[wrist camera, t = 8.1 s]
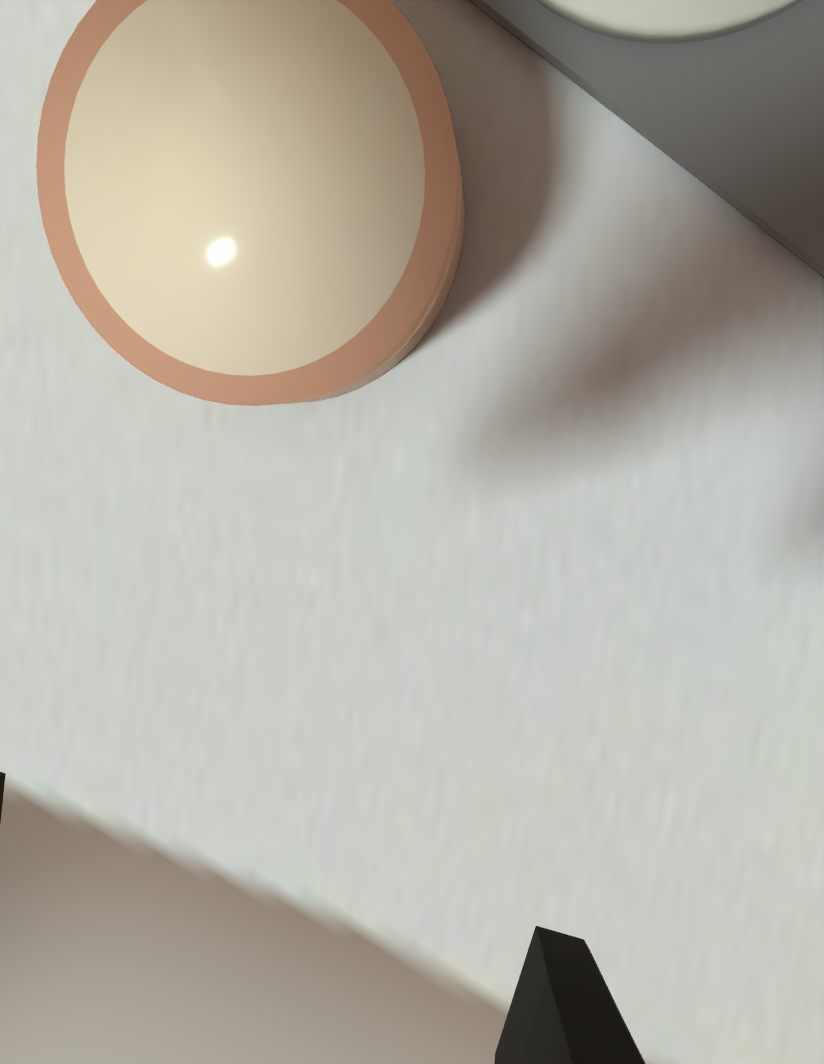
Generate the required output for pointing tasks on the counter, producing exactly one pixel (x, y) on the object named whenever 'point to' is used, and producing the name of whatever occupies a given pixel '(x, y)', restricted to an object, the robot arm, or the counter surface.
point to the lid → (667, 17)
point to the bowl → (252, 191)
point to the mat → (713, 106)
